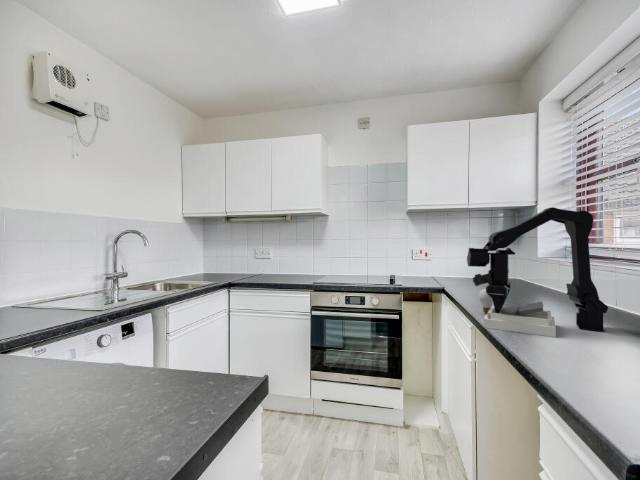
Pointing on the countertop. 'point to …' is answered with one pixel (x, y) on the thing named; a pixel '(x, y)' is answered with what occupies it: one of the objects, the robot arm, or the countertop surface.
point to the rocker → (522, 309)
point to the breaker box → (522, 322)
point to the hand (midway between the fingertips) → (499, 310)
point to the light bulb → (485, 300)
